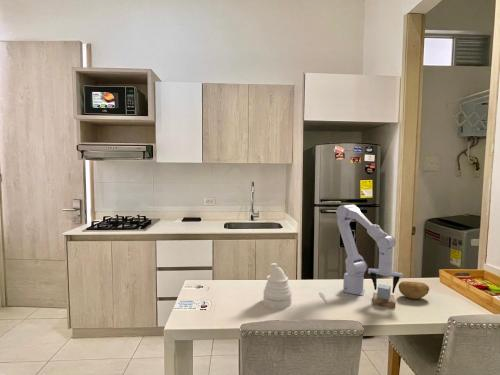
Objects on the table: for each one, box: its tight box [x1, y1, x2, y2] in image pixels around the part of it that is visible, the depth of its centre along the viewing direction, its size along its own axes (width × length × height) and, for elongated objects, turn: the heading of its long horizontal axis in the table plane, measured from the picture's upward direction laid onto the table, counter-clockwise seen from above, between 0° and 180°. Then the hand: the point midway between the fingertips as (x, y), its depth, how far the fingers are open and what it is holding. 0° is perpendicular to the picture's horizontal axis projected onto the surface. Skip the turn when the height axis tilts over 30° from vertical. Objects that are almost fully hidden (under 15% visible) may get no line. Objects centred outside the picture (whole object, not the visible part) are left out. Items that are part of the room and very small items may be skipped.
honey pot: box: [262, 262, 293, 310], centre depth 150 cm, size 13×13×18 cm
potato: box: [398, 280, 430, 300], centre depth 158 cm, size 10×14×8 cm
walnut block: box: [372, 292, 396, 309], centre depth 152 cm, size 9×9×3 cm
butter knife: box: [318, 291, 329, 305], centre depth 150 cm, size 1×27×3 cm
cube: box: [376, 283, 392, 300], centre depth 152 cm, size 5×5×5 cm
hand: (384, 290), depth 152 cm, fingers open, 7 cm apart
